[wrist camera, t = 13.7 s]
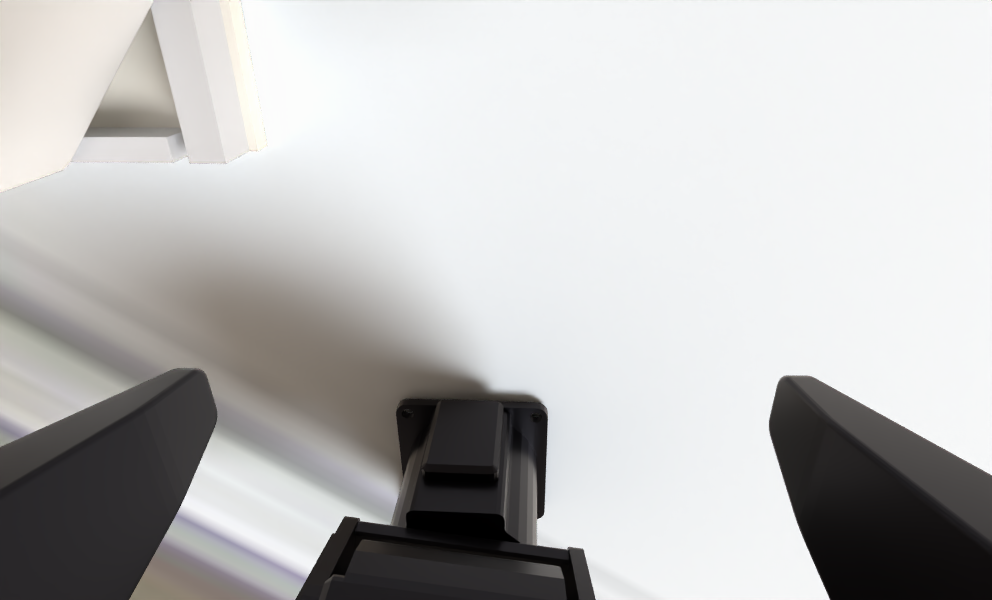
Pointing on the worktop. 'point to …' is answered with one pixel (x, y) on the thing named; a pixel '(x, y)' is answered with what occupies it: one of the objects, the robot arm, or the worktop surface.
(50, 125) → the medicine bottle
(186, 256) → the worktop surface
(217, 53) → the lane
